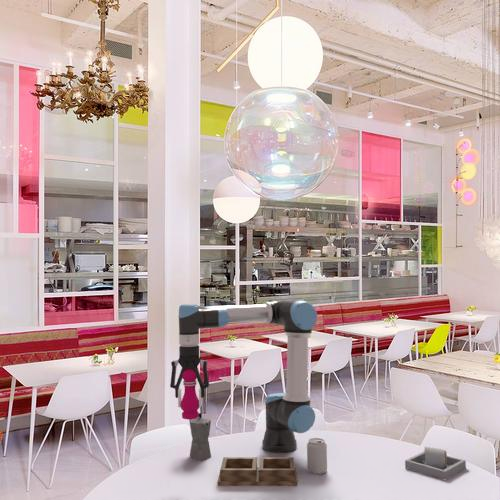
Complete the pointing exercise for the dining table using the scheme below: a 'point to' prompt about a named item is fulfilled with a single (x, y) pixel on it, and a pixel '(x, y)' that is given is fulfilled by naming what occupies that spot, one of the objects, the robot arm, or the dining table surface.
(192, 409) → the pepper mill
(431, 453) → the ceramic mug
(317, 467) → the can
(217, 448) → the dining table surface
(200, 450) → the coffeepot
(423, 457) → the frame
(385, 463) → the dining table surface
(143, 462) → the dining table surface
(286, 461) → the wooden divided tray
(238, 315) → the robot arm
